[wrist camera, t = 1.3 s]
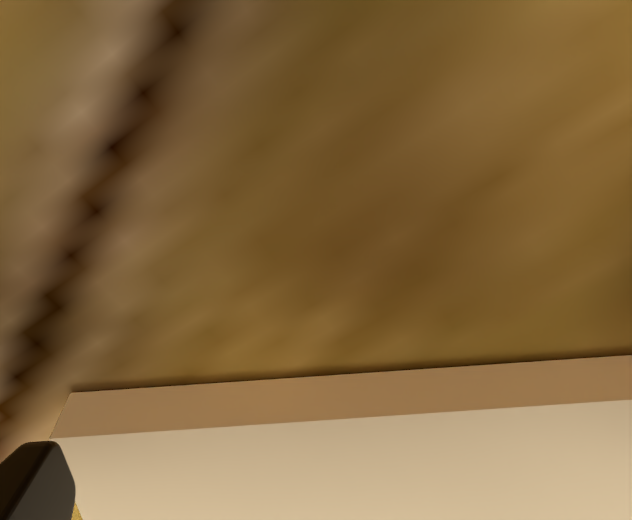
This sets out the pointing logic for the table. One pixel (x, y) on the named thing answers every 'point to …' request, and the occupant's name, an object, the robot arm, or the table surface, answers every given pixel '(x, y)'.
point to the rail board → (361, 446)
